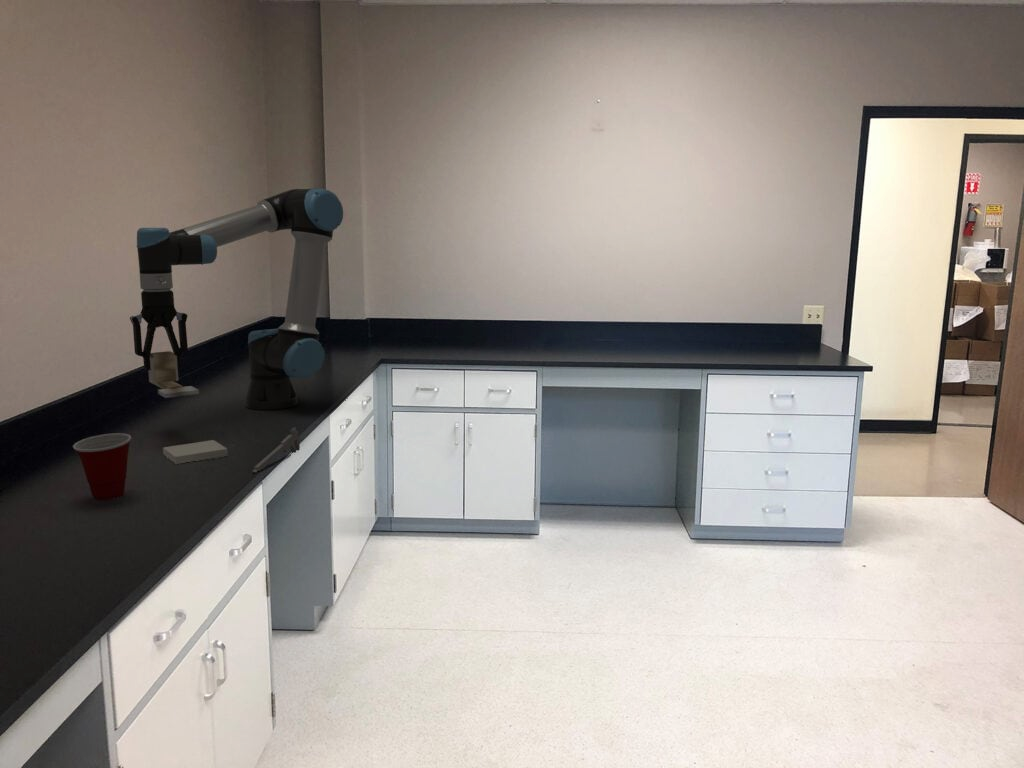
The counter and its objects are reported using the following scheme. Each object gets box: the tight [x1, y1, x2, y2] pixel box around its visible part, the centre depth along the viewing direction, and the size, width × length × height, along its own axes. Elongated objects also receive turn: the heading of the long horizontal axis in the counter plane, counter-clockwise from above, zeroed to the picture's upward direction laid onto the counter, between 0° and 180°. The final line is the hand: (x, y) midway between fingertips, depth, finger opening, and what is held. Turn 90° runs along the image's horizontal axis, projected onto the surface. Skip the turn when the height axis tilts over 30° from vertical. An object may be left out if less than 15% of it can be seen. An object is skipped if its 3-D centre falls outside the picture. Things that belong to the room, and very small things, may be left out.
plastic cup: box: [72, 432, 132, 501], centre depth 174 cm, size 11×11×12 cm
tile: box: [162, 439, 228, 465], centre depth 205 cm, size 12×2×10 cm
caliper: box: [252, 427, 301, 473], centre depth 200 cm, size 20×1×6 cm, turn 166°
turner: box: [150, 350, 200, 399], centre depth 216 cm, size 8×23×8 cm, turn 37°
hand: (163, 380), depth 219 cm, fingers closed on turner, 5 cm apart
